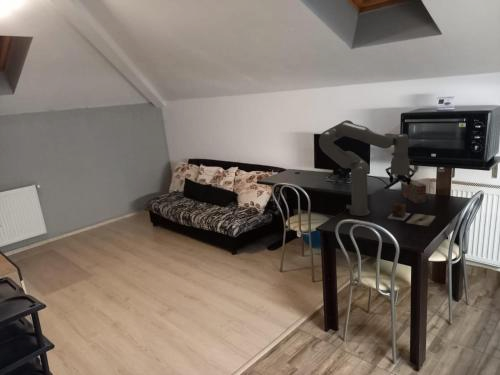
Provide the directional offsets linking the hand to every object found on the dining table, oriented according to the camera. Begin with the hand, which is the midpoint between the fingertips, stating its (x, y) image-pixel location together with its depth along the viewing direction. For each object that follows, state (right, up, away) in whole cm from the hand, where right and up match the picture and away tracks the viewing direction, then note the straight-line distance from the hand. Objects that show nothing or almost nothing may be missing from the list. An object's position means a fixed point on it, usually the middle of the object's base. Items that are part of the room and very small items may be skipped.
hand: (399, 183), depth 229 cm
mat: (+1, -20, +5) cm, 20 cm away
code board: (+11, -21, -4) cm, 24 cm away
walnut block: (+1, -19, +5) cm, 20 cm away
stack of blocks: (+23, -10, +35) cm, 43 cm away
